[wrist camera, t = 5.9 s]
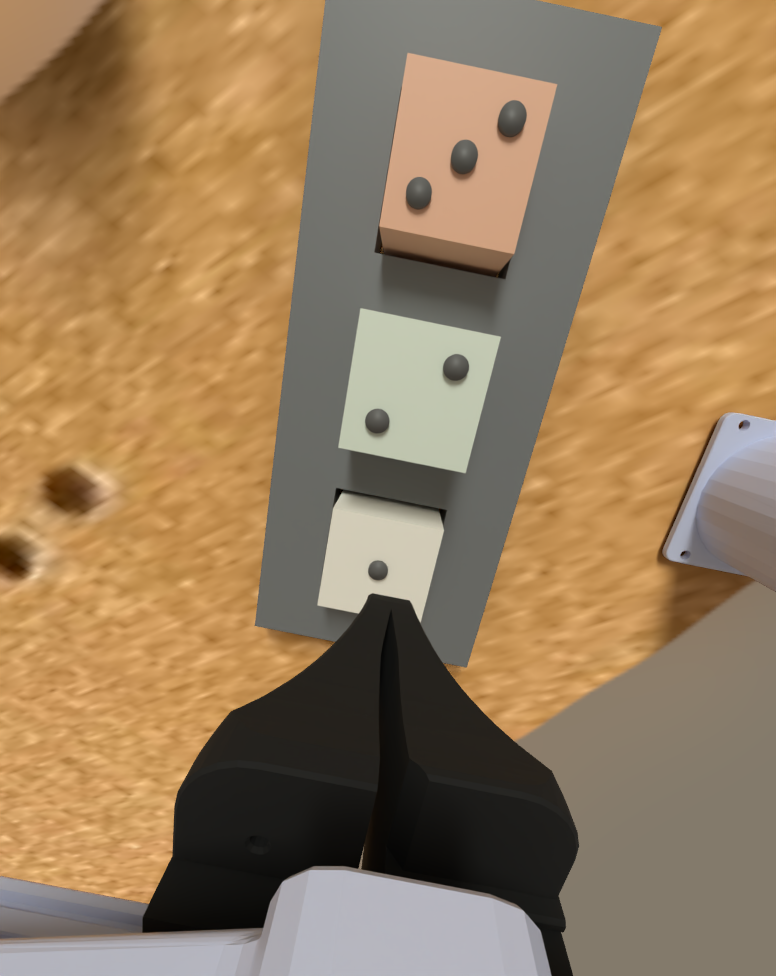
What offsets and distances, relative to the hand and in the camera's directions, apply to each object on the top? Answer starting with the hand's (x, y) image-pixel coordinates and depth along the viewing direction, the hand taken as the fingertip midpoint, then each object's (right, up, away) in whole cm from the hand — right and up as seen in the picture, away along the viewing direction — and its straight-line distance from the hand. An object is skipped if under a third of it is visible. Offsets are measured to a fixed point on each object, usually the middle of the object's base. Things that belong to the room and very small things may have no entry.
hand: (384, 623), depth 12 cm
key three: (+3, +17, +5) cm, 18 cm away
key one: (0, +2, +9) cm, 9 cm away
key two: (+1, +9, +6) cm, 11 cm away
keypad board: (+1, +9, +7) cm, 12 cm away
